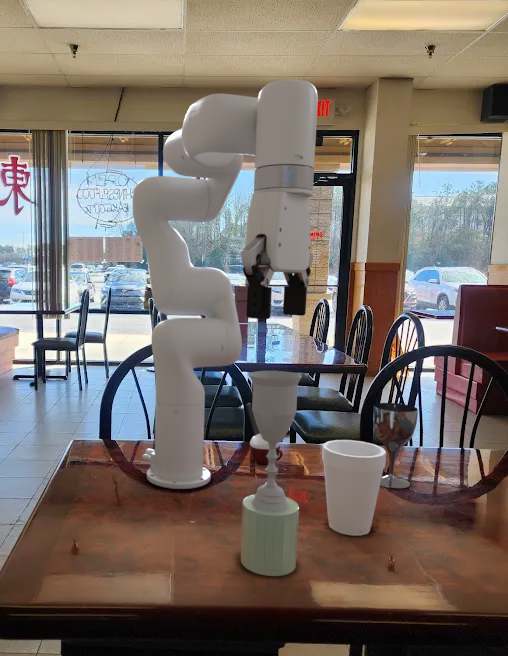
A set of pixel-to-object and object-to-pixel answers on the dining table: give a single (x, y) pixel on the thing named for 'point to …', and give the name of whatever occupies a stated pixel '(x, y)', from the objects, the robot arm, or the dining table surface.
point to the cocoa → (259, 442)
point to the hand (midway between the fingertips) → (277, 316)
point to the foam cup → (352, 484)
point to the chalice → (273, 426)
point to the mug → (269, 538)
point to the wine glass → (394, 434)
